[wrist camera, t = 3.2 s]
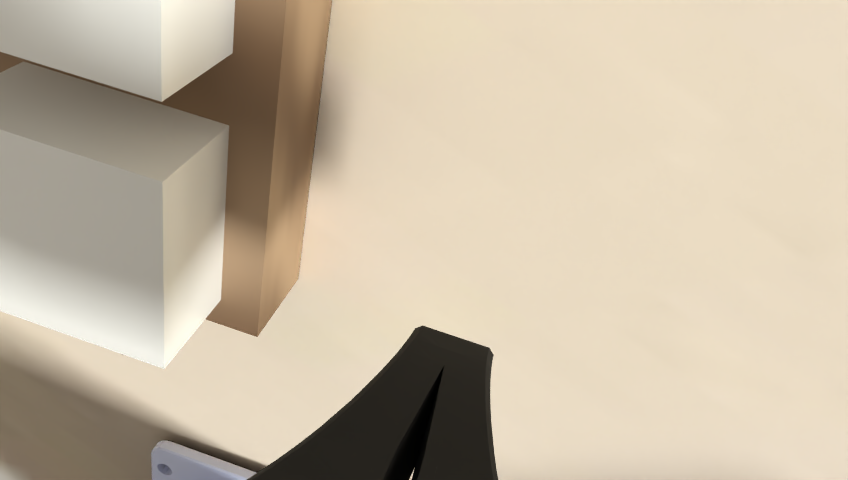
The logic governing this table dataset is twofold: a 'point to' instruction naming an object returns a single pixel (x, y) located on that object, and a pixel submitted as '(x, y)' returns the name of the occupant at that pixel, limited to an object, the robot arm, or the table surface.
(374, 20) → the table surface
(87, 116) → the tile
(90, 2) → the tile
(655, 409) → the table surface
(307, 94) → the ledge
